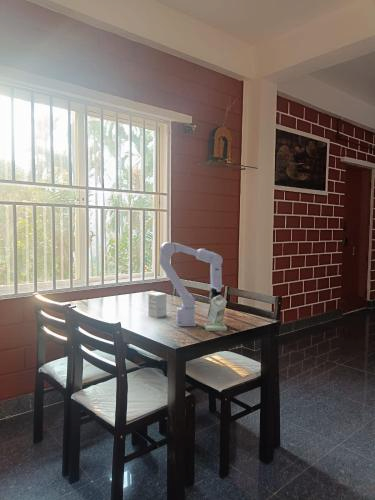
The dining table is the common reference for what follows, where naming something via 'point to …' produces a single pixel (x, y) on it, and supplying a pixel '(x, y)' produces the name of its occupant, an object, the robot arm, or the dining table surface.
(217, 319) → the syrup box
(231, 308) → the dining table surface
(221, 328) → the tray
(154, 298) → the supplement box
